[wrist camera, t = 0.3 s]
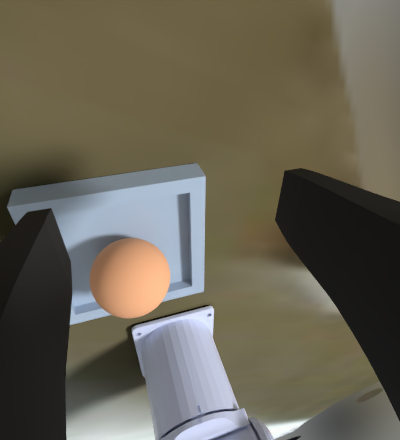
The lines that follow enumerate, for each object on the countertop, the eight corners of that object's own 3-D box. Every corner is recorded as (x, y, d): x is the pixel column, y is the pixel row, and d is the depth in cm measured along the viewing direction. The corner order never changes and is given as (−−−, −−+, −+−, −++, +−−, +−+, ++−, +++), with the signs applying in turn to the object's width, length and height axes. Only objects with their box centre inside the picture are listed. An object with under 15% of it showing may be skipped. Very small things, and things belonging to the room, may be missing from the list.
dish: (197, 275, 27) (203, 291, 25) (65, 307, 24) (64, 326, 23) (196, 162, 20) (205, 176, 18) (12, 189, 17) (7, 207, 16)
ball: (164, 267, 23) (180, 322, 19) (97, 282, 22) (100, 344, 18) (158, 216, 20) (176, 269, 16) (80, 230, 19) (80, 291, 15)
